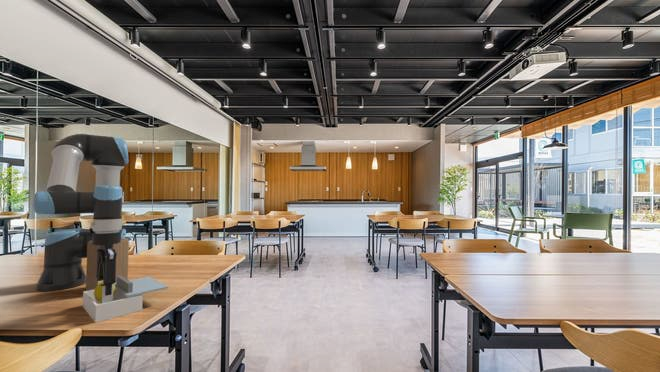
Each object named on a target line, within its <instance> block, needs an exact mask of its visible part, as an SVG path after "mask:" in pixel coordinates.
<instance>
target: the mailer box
mask: <svg viewBox="0 0 660 372" xmlns="http://www.w3.org/2000/svg"><path fill="white" fill-rule="evenodd" d="M115 289H116V288H115ZM143 295H144V294H140V295H136V296H131V297H126V296H125V295H124V294H122V293H121V292H120V291H119V290H117V289H116V291H115V294H114V296H113V301H112V302H107V303H103V304H102V303H101V302H97V300H96V299H95V297H94V290H89V291H86V290H84V291H83V292H82V308H83V309H84V310H85V311H86V312H87V314H88V315H89V317H91V319H92V320H93V322H94V323H95V324H96V323H100V322H102V321H107V320H111V319H114V318H118V317H122V316H126V315H129V314H133V313H137V312H141V311H143V302H144V301H143V298H144V297H143Z"/></svg>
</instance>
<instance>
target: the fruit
mask: <svg viewBox="0 0 660 372" xmlns="http://www.w3.org/2000/svg"><path fill="white" fill-rule="evenodd" d="M101 284H103V282H101V283H99V284H98V285H97V286H96V288H95V290H94V297H95V299H96V300H97V301H99V302H101V303H102V286H101ZM115 291H116V289H115V285H114V284H113V296H114V294H115Z"/></svg>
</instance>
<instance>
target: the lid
mask: <svg viewBox="0 0 660 372" xmlns="http://www.w3.org/2000/svg"><path fill="white" fill-rule="evenodd" d="M114 285H115V288H116V289H117V290H119V291H120V292H121V293H122V294H124V295H125V296H126V297H131V296H136V295H140V294H142V295H144V294H149V293H153V292H157V291H161V290H166V289H169V285H167V284H164V283H163V282H161V281H159V280H157V279H155V278H153V277H151V276H146V277H139V278H134V279H128V280H127V279H126V278H124V277H123V276H121V275H120V276H117V282H116V283H114Z"/></svg>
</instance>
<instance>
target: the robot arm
mask: <svg viewBox="0 0 660 372" xmlns="http://www.w3.org/2000/svg"><path fill="white" fill-rule="evenodd" d="M128 152H129V151H128V147H127V142H126V140H125V138H121V137H115V136H107V135H106V136H105V135H95V134H87V133H75V134H71V135H68V136H66V137H63V138H62V139H60V140H59V141H57V143H55V144H54V146H53V147H52V149H51V157H52V159H53V161H52V165H51V169H50V173H49V176H48V179H47V185H46V188H45V190H44V191H43V190H41V191H37V192H35V194H34V195H33V196H34V197H33V206H32V207H33V211H34V213H35V214H37V215H51V216H52V215H71V214H72V215H73V214H93V218H92V219H93V220H92V222H90V226H89V230H84V229H83V228H82V227H79V228H78V227H77V228H70V229H69V228H68V229H62V230H58V231H53V232H50V233H48V234H46V235H45V238H44V244H43V246H44V252H43V253H44V256H43V269H42V272H41V274H40V276H39V278H38V281H37V283H36V291H41V292H52V291H60V290H66V289H70V288H71V289H72V288H74V287H79V286H82V285H85V284H86V273H85V272H86V271H85V269H84V268H83V265H82V263H83V262H82V261H83V260H82V259H87V243H88V242H89V241H92V244H93V245H100V249H97V274H96V277H97V280H98V284H99V283H101V282H103V284H101V286H102V304H103V303H107V302H112V301H113V284H114V283H115V282H116V255H117V253H116V252H115V249H114V248H113V245H114V244H117V243H120V242H121V238H126V234H127V229H126V228H123V225H122V224H123V223H122V222H123V218H122V217H123V216H122V212H123V197H124V195H123V187H122V186H121V185H120V183H121V171H122V170H123V169H124V168H125V165H127V164H129V153H128ZM82 161H84V162H91V166H92V168H94V169H95V187H94V190H93V191H77V185H78V177H79V171H80V164H81V162H82ZM97 302H99V301H97Z"/></svg>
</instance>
